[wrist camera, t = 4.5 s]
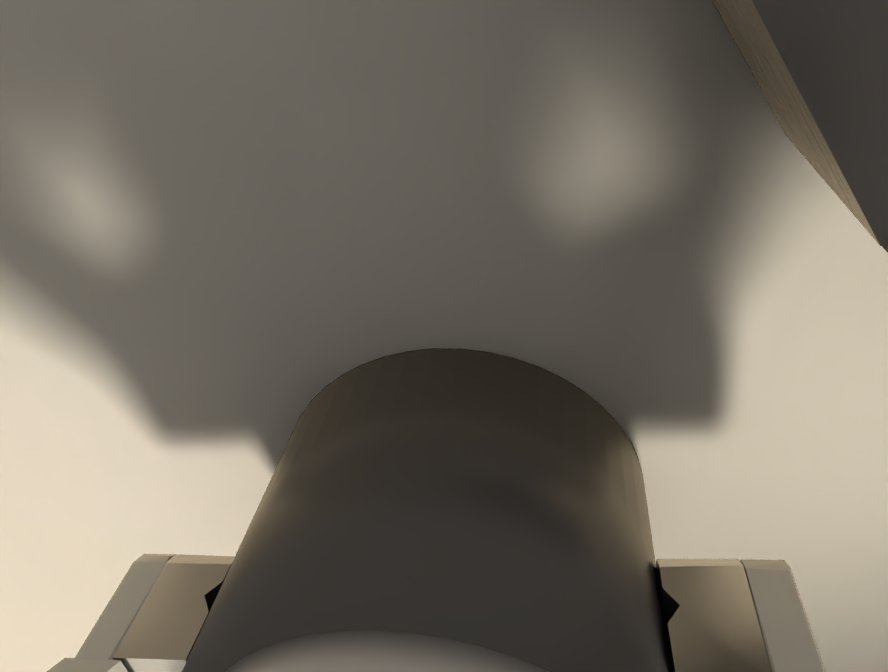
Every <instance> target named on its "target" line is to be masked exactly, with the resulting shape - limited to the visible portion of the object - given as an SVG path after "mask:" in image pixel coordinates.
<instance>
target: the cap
mask: <svg viewBox="0 0 888 672" xmlns="http://www.w3.org/2000/svg"><path fill="white" fill-rule="evenodd" d="M182 672H670V666H669V660H668V653H667V641H666V634H665V627H664V620H663V615H662V611H661V603H660V596H659V589H658V582H657V574H656V564H655V557H654V550H653V543H652V536H651V529H650V522H649V515H648V508H647V501H646V494H645V487H644V480H643V475H642V471H641V467H640V464H639V460H638V457H637V455H636V453H635V451H634V449H633V447H632V445H631V443H630V440H629V439H628V438H627V436H626V435H625V433H624V432H623V430H622V429H621V427H620V426H619V424H618V423H617V422H616V421H615V420H614V419H613V418H612V417H611V415H610V414H609V413H608V412H607V411H606V410H605V409H604V408H603V407H602V406H601V405H600V404H598V403H597V402H596V401H595V400H594V399H592V398H591V397H590V396H589V395H587V394H586V393H585V392H584V391H582V390H581V389H579V388H577V387H576V386H574V385H573V384H571V383H569V382H568V381H566V380H565V379H563V378H561V377H559V376H557V375H555V374H553V373H551V372H548V371H546V370H544V369H542V368H540V367H538V366H535V365H532V364H529V363H526V362H523V361H520V360H517V359H514V358H510V357H506V356H501V355H497V354H493V353H488V352H480V351H472V350H463V349H429V350H419V351H409V352H404V353H400V354H395V355H391V356H386V357H383V358H380V359H377V360H374V361H371V362H369V363H366V364H363V365H361V366H359V367H357V368H355V369H353V370H351V371H349V372H347V373H345V374H343V375H342V376H340V377H339V378H337V379H336V380H335V381H333V382H332V383H330V384H329V385H328V386H326V387H325V388H324V389H323V390H322V391H321V392H320V393H319V394H318V395H317V396H316V397H315V398H314V399H313V400H312V401H311V402H310V403H309V405H308V406H307V408H306V409H305V410H304V412H303V413H302V415H301V416H300V418H299V420H298V422H297V424H296V426H295V429H294V431H293V433H292V435H291V437H290V439H289V441H288V444H287V446H286V448H285V450H284V452H283V454H282V457H281V459H280V461H279V463H278V465H277V467H276V469H275V472H274V474H273V476H272V478H271V480H270V482H269V485H268V487H267V489H266V491H265V493H264V495H263V498H262V500H261V502H260V504H259V506H258V508H257V511H256V513H255V515H254V517H253V519H252V521H251V523H250V526H249V528H248V530H247V532H246V534H245V536H244V539H243V541H242V543H241V545H240V547H239V549H238V552H237V554H236V556H235V558H234V560H233V562H232V565H231V567H230V569H229V571H228V573H227V575H226V577H225V580H224V582H223V584H222V586H221V588H220V590H219V593H218V595H217V597H216V599H215V601H214V603H213V606H212V608H211V610H210V612H209V614H208V616H207V619H206V621H205V623H204V625H203V627H202V629H201V631H200V634H199V636H198V638H197V640H196V642H195V644H194V647H193V649H192V651H191V653H190V655H189V657H188V660H187V662H186V664H185V666H184V668H183V670H182Z"/></svg>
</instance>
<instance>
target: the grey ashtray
mask: <svg viewBox="0 0 888 672" xmlns="http://www.w3.org/2000/svg"><path fill="white" fill-rule="evenodd" d="M712 1H713V3H714V4H715V6H716V8H717V10H718V12H719V14H720V15H721V17H722V19H723V21H724V23H725V24H726V26H727V28H728V30H729V32H730V34H731V35H732V37H733V39H734V41H735V43H736V45H737V46H738V48H739V50H740V52H741V54H742V56H743V57H744V59H745V61H746V63H747V65H748V66H749V68H750V70H751V72H752V74H753V76H754V77H755V79H756V81H757V83H758V85H759V87H760V88H761V90H762V92H763V94H764V96H765V98H766V99H767V101H768V103H769V105H770V107H771V109H772V110H773V112H774V114H775V116H776V118H777V119H778V121H779V123H780V125H781V127H782V129H783V130H784V132H785V134H786V136H787V137H788V138H789V139H790V140H791V142H792V143H793V144H794V145H795V146H796V147H797V149H798V150H799V151H800V152H801V153H802V155H803V156H804V157H805V158H806V159H807V160H808V162H809V163H810V164H811V165H812V166H813V167H814V169H815V170H816V171H817V172H818V173H819V174H820V176H821V177H822V178H823V179H824V180H825V182H826V183H827V184H828V185H829V186H830V187H831V189H832V190H833V191H834V192H835V193H836V194H837V196H838V197H839V198H840V199H841V200H842V201H843V203H844V204H845V205H846V206H847V207H848V209H849V210H850V211H851V212H852V213H853V214H854V216H855V217H856V218H857V219H858V220H859V221H860V223H861V224H862V225H863V226H864V227H865V228H866V230H867V231H868V232H869V233H870V234H871V236H872V237H873V238H874V239H875V240H876V241H877V243H878V244H879V245H880V246H882V247H883V248H884V249H885V250H886V251H887V252H888V0H712Z"/></svg>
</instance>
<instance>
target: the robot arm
mask: <svg viewBox="0 0 888 672" xmlns="http://www.w3.org/2000/svg"><path fill="white" fill-rule="evenodd" d="M234 558H235V557H231V556H205V555H179V554H143V555H142V556H141V557H140V558H138V559H137V560H136V561H134V562H133V564H132V565H131V567H130V568H129V570H128V572H127V573H126V575H125V577H124V578H123V580H122V582H121V583H120V585H119V586H118V588H117V590H116V591H115V593H114V595H113V596H112V598H111V600H110V601H109V603H108V604H107V606H106V608H105V609H104V611H103V613H102V614H101V616H100V617H99V619H98V621H97V622H96V624H95V626H94V627H93V629H92V631H91V632H90V634H89V635H88V637H87V639H86V640H85V642H84V644H83V645H82V647H81V648H80V650H79V652H78V653H77V655H76V657H75V658H64V659H63V660H62V661H60V662H59V663H58V664H56V665H55V666H54V667H52V668H51V669H50V670H48V671H47V672H182V670H183V668H184V666H185V664H186V662H187V660H188V657H189V655H190V653H191V651H192V649H193V647H194V644H195V642H196V640H197V638H198V636H199V634H200V631H201V629H202V627H203V625H204V623H205V621H206V619H207V616H208V614H209V612H210V610H211V608H212V606H213V603H214V601H215V599H216V597H217V595H218V593H219V590H220V588H221V586H222V584H223V582H224V580H225V577H226V575H227V573H228V571H229V569H230V567H231V565H232V562H233V560H234ZM656 574H657V582H658V589H659V596H660V603H661V611H662V615H663V620H664V627H665V634H666V641H667V653H668V660H669V666H670V672H825V669H824V666H823V663H822V660H821V657H820V654H819V651H818V648H817V645H816V642H815V639H814V636H813V633H812V630H811V627H810V624H809V621H808V618H807V616H806V613H805V610H804V607H803V604H802V601H801V598H800V595H799V592H798V589H797V586H796V583H795V580H794V577H793V574H792V571H791V568H790V567H789V565H788V564H787V563H786V562H785V561H784V560H740V561H739V560H738V559H657V561H656Z"/></svg>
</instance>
